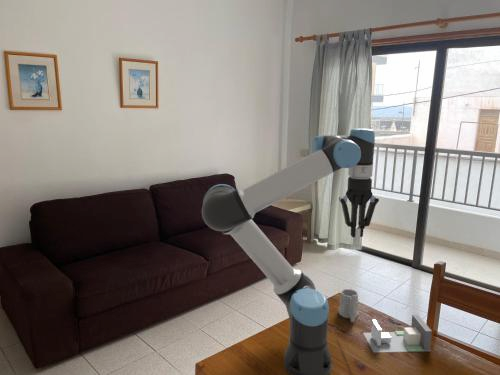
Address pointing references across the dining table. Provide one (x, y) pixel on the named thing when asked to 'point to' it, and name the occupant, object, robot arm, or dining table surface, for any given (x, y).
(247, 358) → the dining table surface
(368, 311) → the dining table surface
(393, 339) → the bench
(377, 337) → the plunger
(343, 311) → the mug
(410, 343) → the block
